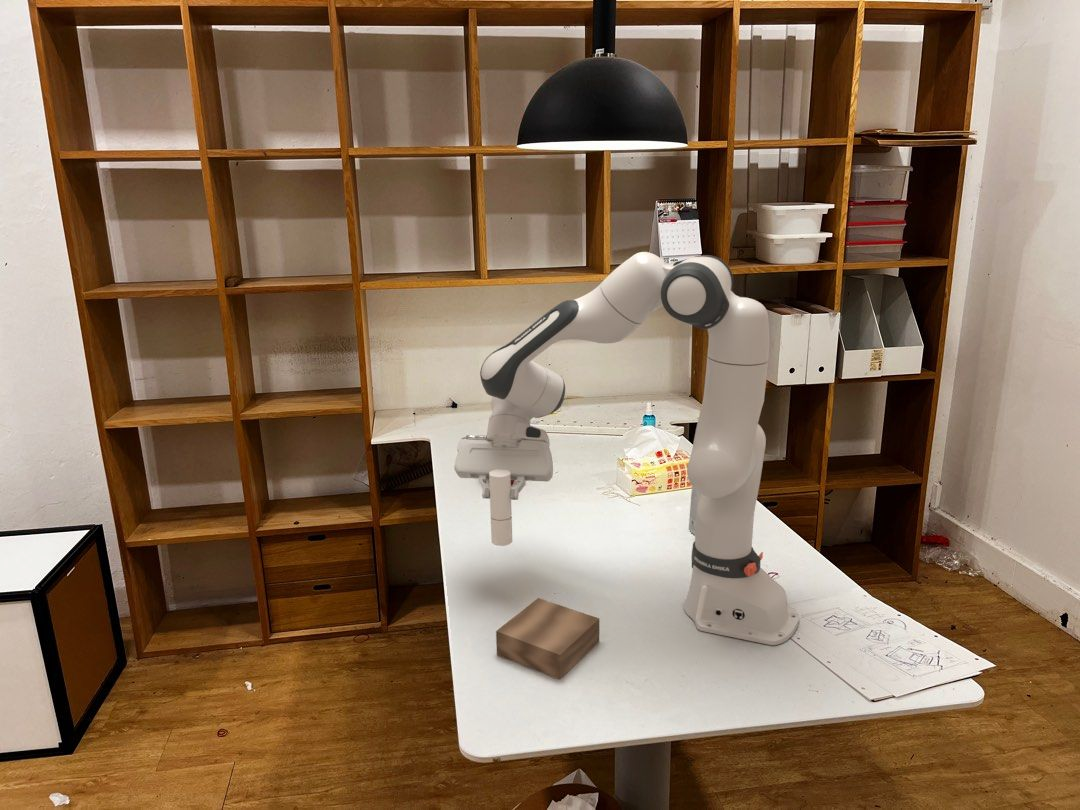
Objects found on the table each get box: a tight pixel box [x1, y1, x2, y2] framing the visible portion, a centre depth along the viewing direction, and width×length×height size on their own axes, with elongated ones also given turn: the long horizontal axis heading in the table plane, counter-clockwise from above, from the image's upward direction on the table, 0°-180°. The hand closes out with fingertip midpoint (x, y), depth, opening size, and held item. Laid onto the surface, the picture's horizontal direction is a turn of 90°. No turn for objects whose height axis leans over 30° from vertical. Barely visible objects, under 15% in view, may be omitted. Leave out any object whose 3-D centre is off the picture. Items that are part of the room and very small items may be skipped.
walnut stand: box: [495, 597, 601, 680], centre depth 151 cm, size 14×14×5 cm
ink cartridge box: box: [688, 485, 701, 536], centre depth 194 cm, size 10×6×14 cm, turn 15°
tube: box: [488, 470, 513, 547], centre depth 163 cm, size 4×4×15 cm
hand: (500, 498), depth 162 cm, fingers closed on tube, 4 cm apart
